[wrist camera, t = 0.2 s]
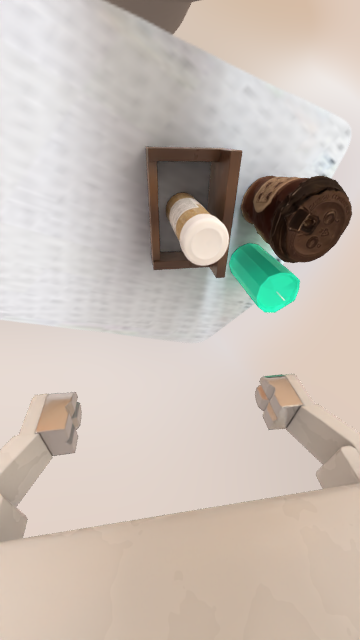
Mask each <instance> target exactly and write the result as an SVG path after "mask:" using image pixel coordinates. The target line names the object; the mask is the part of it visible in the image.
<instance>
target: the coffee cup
mask: <svg viewBox="0 0 360 640" xmlns="http://www.w3.org/2000/svg"><path fill="white" fill-rule="evenodd" d="M241 210H242V213H243V217H244V218H245V220H246V221H248V222H249V223H251V224H254V226H255V228H256V231H257V233H258V234H259V235H260V236H261V237H262V238H263V240H265V242H266V243H268V244H270V246H271V248H272V249H273V251H274V252H275V254H276V255H277V256H278V257H279V258H280V259H281V260H283V261H284V262H290V263H295V262H310V261H313V260H315V259H317V258H320V257H321V256H323V255H324V254H325V253H327V252H328V251H329V250H330V249H331V248H332V247H333V246H334V245H335V244H336V243H337V241H338V240H339V238H340V236H341V235H342V233H343V232H344V230H345V229H346V227H347V226H348V224H349V221H350V218H351V215H352V211H351V204H350V202H349V198H348V197H347V195H346V193H345V192H344V190H343V189H342V187H341V186H340V185H339V184H338V182H337V181H336V180H333V179H331V178H328V177H324V176H315V177H311V178H297V177H290V178H288V177H275V176H266V177H262V178H259V179H258V180H256V181H255V182H254V183H253V184H252V185H251V186H250V187H249V188H248V190H247V192H246V193H245V195H244V197H243V201H242V204H241Z"/></svg>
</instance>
